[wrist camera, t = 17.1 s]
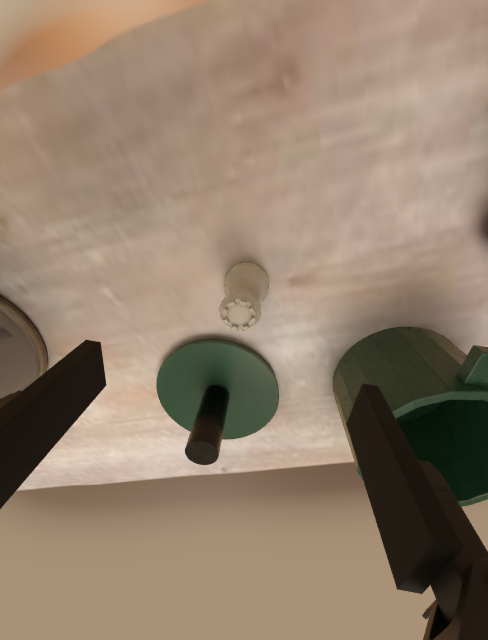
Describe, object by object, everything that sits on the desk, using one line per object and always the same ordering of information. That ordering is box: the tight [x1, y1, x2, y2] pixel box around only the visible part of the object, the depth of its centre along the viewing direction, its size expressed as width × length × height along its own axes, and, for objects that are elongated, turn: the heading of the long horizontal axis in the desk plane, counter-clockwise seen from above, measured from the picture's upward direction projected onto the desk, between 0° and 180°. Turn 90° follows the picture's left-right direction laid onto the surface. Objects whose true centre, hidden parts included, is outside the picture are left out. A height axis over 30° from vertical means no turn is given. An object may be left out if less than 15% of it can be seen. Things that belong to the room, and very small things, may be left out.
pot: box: [333, 327, 488, 506], centre depth 26 cm, size 14×19×10 cm
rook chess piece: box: [219, 263, 269, 331], centre depth 24 cm, size 4×4×8 cm
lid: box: [157, 340, 279, 465], centre depth 30 cm, size 15×15×9 cm
